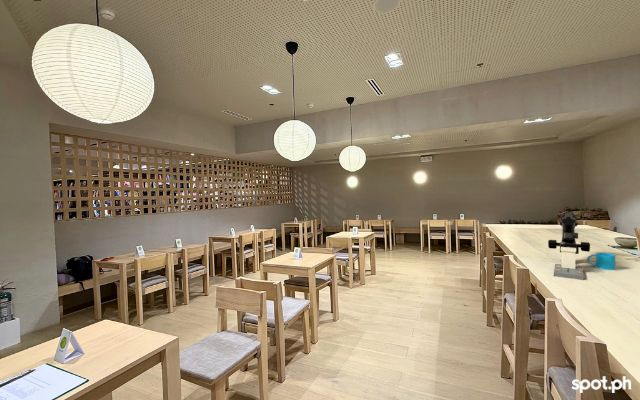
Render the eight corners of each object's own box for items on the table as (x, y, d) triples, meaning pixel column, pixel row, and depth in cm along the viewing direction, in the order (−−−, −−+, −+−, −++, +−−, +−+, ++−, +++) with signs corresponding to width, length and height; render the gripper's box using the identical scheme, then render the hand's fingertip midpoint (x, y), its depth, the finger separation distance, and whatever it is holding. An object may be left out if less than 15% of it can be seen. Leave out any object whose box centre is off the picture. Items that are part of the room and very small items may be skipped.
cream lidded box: (560, 266, 170) (560, 246, 170) (575, 267, 166) (575, 248, 166) (560, 267, 167) (560, 248, 167) (576, 269, 163) (576, 249, 163)
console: (555, 267, 176) (555, 263, 176) (582, 270, 168) (582, 266, 168) (553, 275, 159) (553, 272, 159) (583, 279, 151) (583, 275, 151)
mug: (615, 267, 171) (615, 254, 171) (615, 270, 165) (615, 256, 165) (587, 264, 180) (587, 251, 179) (586, 267, 174) (586, 253, 174)
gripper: (548, 226, 178) (547, 247, 170) (589, 228, 165) (590, 251, 157) (549, 237, 184) (548, 258, 176) (589, 240, 172) (590, 262, 164)
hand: (568, 257), depth 168 cm, fingers closed, pressing on cream lidded box
